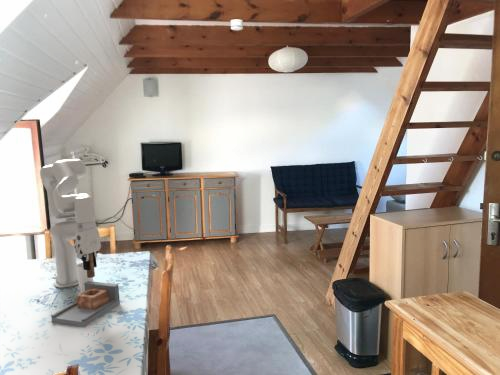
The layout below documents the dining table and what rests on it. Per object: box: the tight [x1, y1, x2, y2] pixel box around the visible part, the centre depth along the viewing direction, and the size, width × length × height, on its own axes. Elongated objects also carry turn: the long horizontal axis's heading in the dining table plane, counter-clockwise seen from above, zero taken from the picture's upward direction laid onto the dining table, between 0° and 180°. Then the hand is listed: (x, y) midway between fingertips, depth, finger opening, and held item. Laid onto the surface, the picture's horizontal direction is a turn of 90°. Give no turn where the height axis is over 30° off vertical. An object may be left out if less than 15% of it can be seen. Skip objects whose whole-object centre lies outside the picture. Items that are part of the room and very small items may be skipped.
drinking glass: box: [76, 262, 94, 294], centre depth 190 cm, size 7×7×15 cm
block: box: [76, 288, 109, 309], centre depth 176 cm, size 9×9×5 cm
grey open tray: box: [50, 281, 121, 328], centre depth 172 cm, size 16×22×9 cm
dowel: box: [84, 253, 96, 278], centre depth 174 cm, size 3×3×12 cm
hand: (90, 268), depth 174 cm, fingers closed on dowel, 3 cm apart
